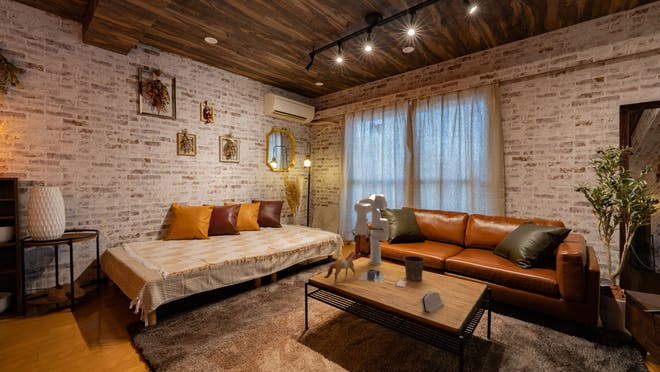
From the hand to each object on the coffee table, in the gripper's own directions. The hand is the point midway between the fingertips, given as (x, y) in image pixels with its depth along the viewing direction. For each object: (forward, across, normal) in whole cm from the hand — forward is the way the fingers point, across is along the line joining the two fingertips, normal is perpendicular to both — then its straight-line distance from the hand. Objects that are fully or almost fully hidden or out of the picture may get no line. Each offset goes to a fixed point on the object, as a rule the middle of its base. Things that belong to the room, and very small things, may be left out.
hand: (361, 241), depth 214 cm
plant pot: (+30, -37, -21) cm, 52 cm away
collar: (+29, -7, -5) cm, 30 cm away
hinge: (+31, -55, +24) cm, 67 cm away
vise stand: (+30, -7, -5) cm, 32 cm away
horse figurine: (+31, +15, +8) cm, 35 cm away
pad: (+30, -28, -4) cm, 42 cm away
